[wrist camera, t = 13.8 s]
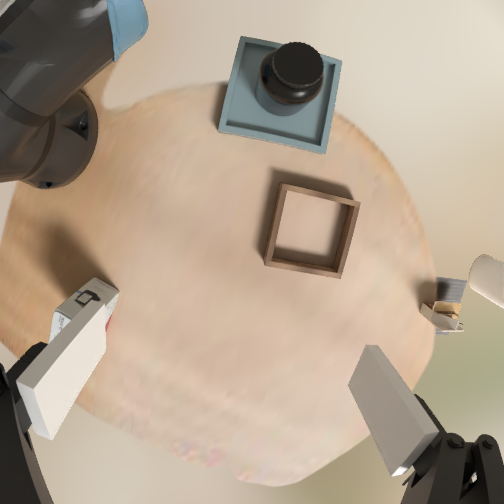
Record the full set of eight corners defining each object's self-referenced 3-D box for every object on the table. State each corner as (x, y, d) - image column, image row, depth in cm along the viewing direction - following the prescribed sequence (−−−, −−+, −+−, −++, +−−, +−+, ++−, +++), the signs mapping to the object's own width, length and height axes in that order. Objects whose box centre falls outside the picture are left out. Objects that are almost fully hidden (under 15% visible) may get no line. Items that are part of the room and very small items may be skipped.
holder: (263, 260, 40) (264, 265, 38) (280, 182, 38) (282, 183, 36) (335, 273, 41) (340, 278, 39) (354, 200, 39) (360, 202, 37)
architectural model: (423, 293, 44) (448, 311, 37) (450, 295, 44) (474, 312, 37) (417, 311, 45) (440, 331, 38) (444, 312, 45) (467, 331, 38)
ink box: (106, 333, 42) (76, 376, 31) (81, 318, 42) (46, 357, 30) (120, 290, 41) (87, 329, 29) (93, 275, 40) (54, 308, 28)
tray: (218, 132, 36) (217, 130, 34) (240, 41, 32) (240, 35, 31) (321, 154, 37) (325, 153, 35) (338, 64, 34) (342, 60, 32)
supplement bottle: (251, 71, 33) (258, 31, 22) (303, 69, 33) (329, 32, 22) (257, 119, 35) (266, 96, 23) (309, 117, 35) (340, 95, 23)
